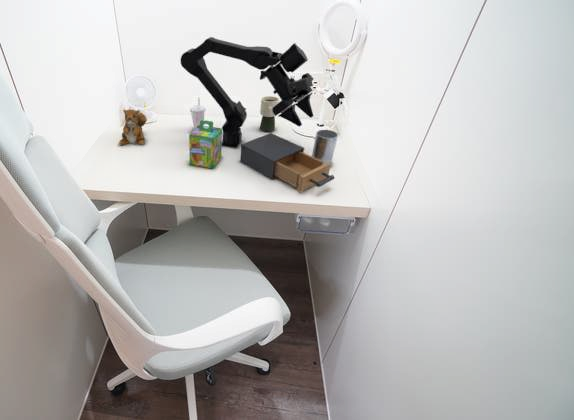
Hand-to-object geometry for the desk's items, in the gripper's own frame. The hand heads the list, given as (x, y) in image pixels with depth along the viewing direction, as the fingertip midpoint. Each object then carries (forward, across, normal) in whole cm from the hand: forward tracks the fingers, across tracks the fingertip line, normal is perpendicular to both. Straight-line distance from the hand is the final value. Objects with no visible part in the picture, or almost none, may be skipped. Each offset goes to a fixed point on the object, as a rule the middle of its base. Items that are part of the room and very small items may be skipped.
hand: (306, 121), depth 108 cm
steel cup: (+15, 0, +4) cm, 16 cm away
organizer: (+5, -10, +14) cm, 18 cm away
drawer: (+14, -14, +4) cm, 20 cm away
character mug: (-5, +15, +25) cm, 29 cm away
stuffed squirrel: (-34, -24, +53) cm, 67 cm away
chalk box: (-9, -22, +28) cm, 37 cm away
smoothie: (-22, -3, +42) cm, 47 cm away
